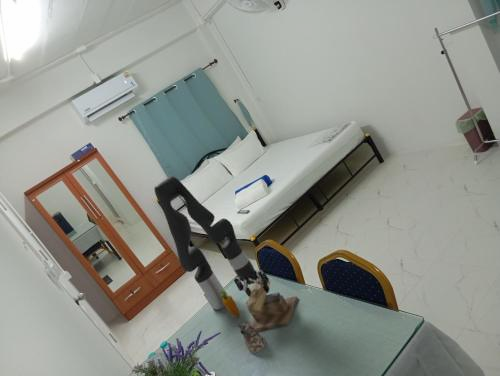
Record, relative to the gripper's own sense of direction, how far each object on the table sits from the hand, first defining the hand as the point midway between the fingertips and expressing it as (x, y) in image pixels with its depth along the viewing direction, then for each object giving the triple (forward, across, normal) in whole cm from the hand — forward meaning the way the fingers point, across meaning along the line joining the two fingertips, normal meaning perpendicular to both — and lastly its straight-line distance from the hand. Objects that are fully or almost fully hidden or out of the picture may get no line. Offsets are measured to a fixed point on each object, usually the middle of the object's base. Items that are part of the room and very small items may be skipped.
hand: (259, 293), depth 189 cm
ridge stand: (+12, 0, 0) cm, 12 cm away
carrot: (+12, +21, -5) cm, 25 cm away
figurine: (+12, +2, +17) cm, 21 cm away
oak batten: (+2, 0, 0) cm, 2 cm away
